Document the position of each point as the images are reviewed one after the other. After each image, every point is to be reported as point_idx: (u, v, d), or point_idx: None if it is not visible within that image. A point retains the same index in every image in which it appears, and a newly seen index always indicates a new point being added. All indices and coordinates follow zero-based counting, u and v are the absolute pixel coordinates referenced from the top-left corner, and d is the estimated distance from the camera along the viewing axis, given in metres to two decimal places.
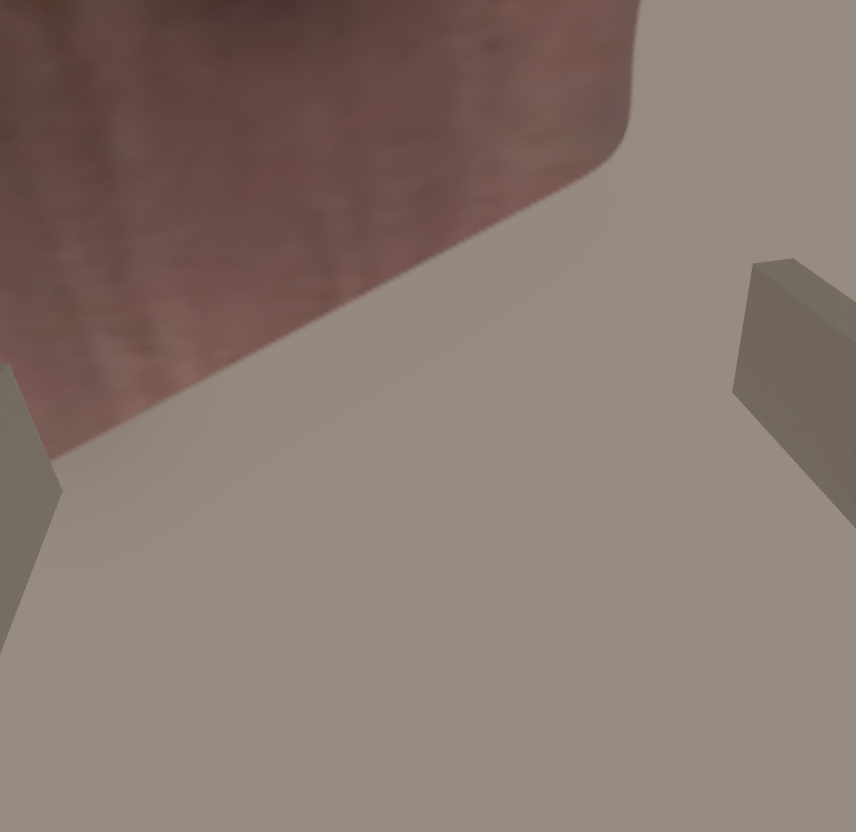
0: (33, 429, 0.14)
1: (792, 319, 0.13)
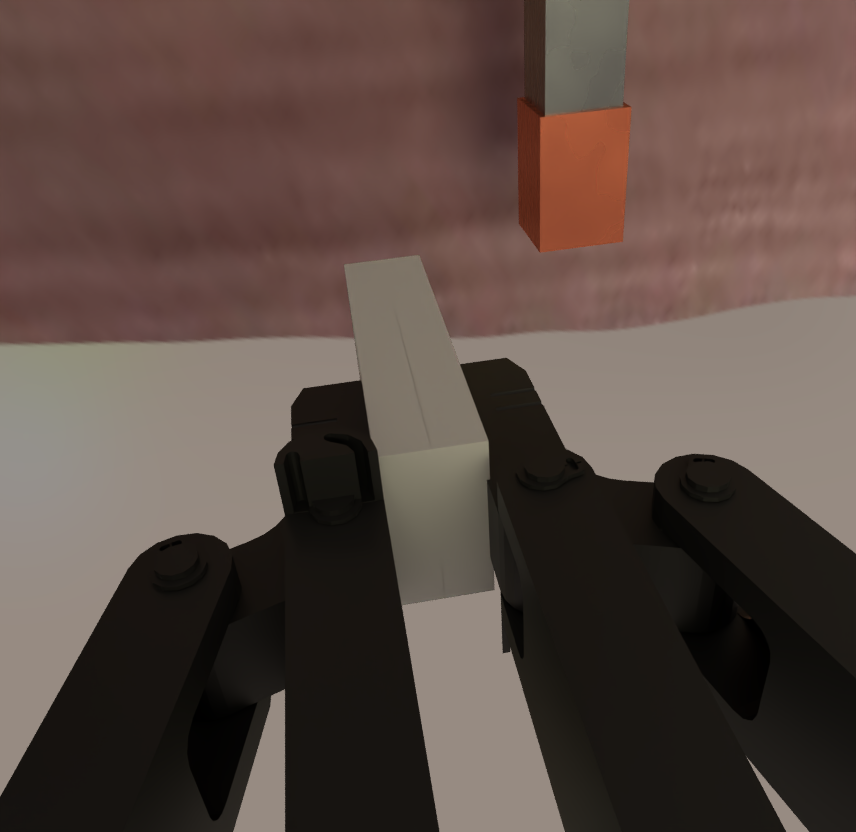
0: None
1: None
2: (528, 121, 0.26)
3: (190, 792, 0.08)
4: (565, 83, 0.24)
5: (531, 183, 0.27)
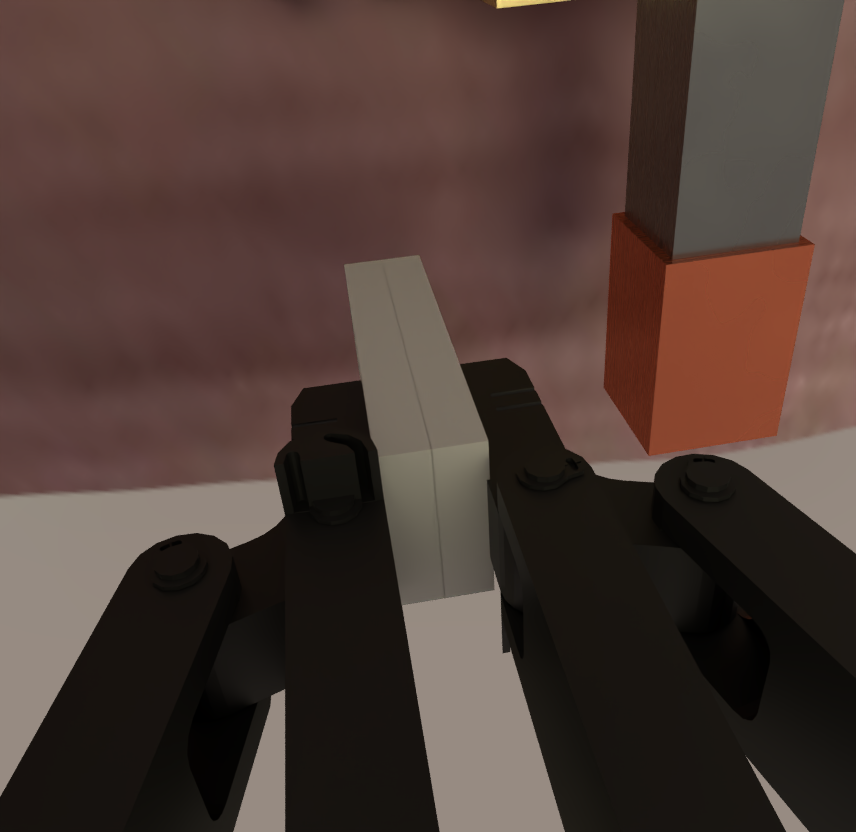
0: None
1: None
2: (636, 258, 0.16)
3: (190, 792, 0.08)
4: (710, 210, 0.14)
5: (636, 349, 0.17)
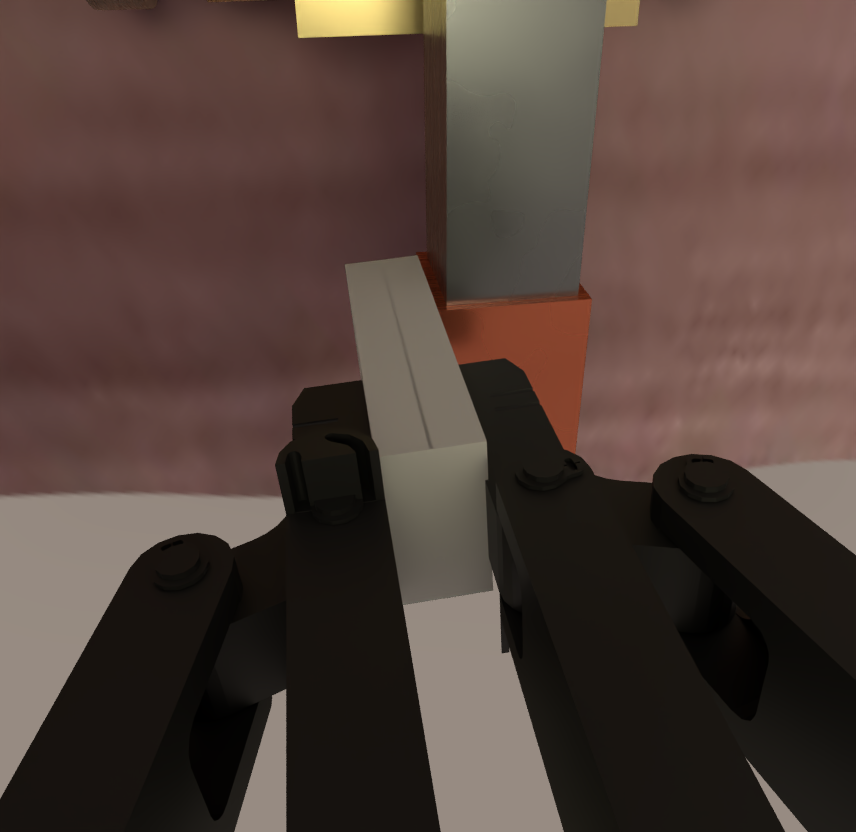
0: None
1: None
2: None
3: (191, 792, 0.08)
4: (481, 259, 0.14)
5: None
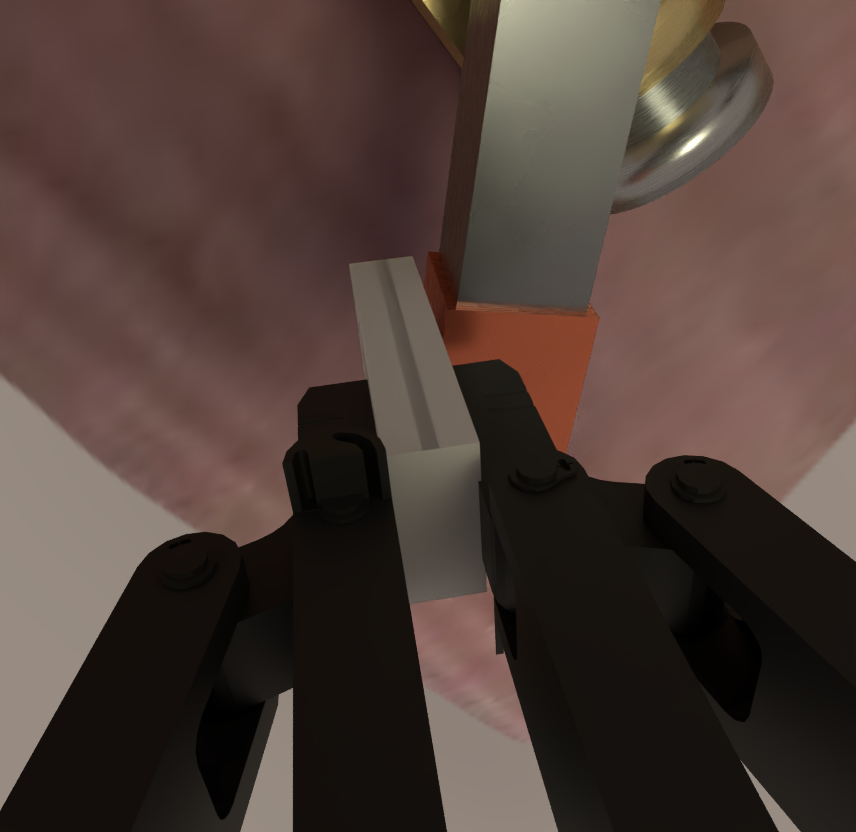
0: None
1: None
2: (434, 299, 0.16)
3: (198, 791, 0.08)
4: (498, 264, 0.14)
5: None
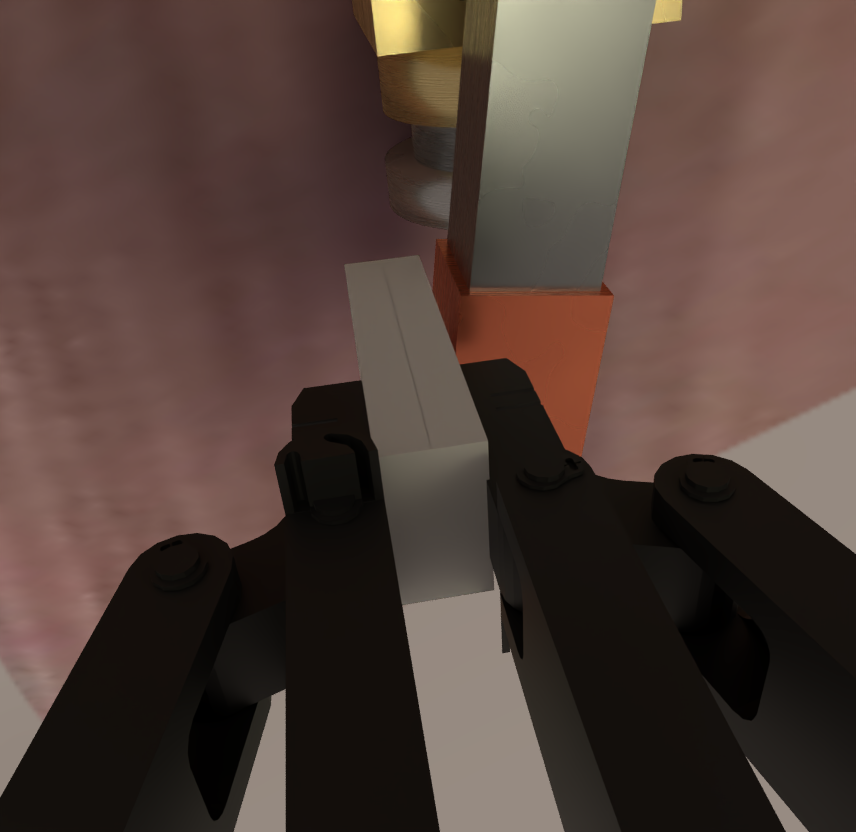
0: None
1: None
2: (445, 286, 0.16)
3: (190, 792, 0.08)
4: (509, 247, 0.14)
5: None
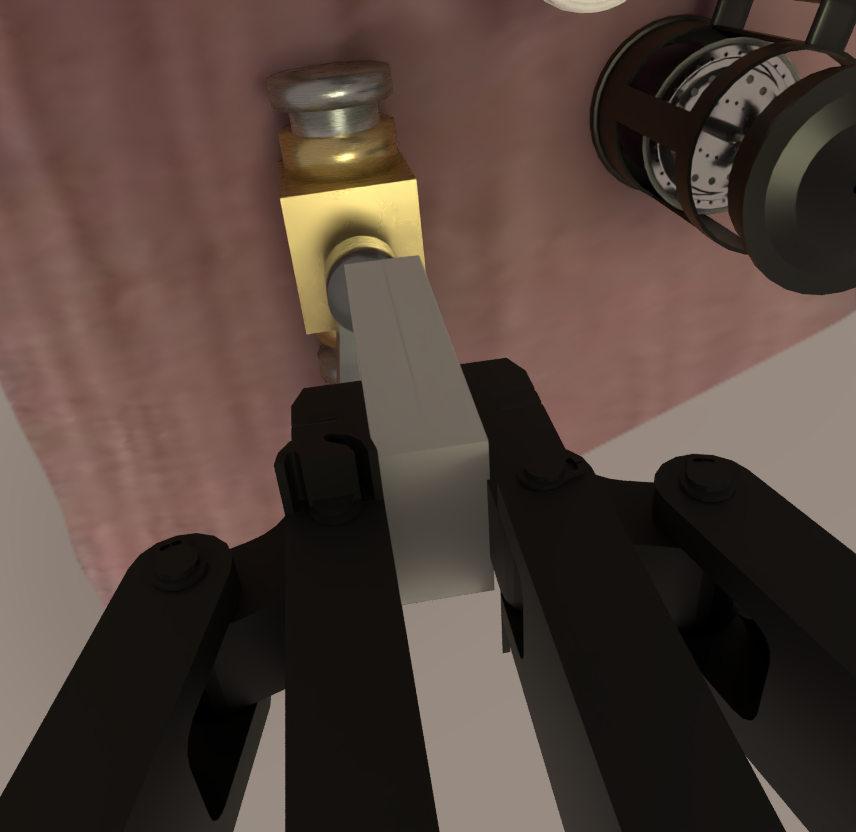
0: None
1: None
2: None
3: (190, 792, 0.08)
4: None
5: None
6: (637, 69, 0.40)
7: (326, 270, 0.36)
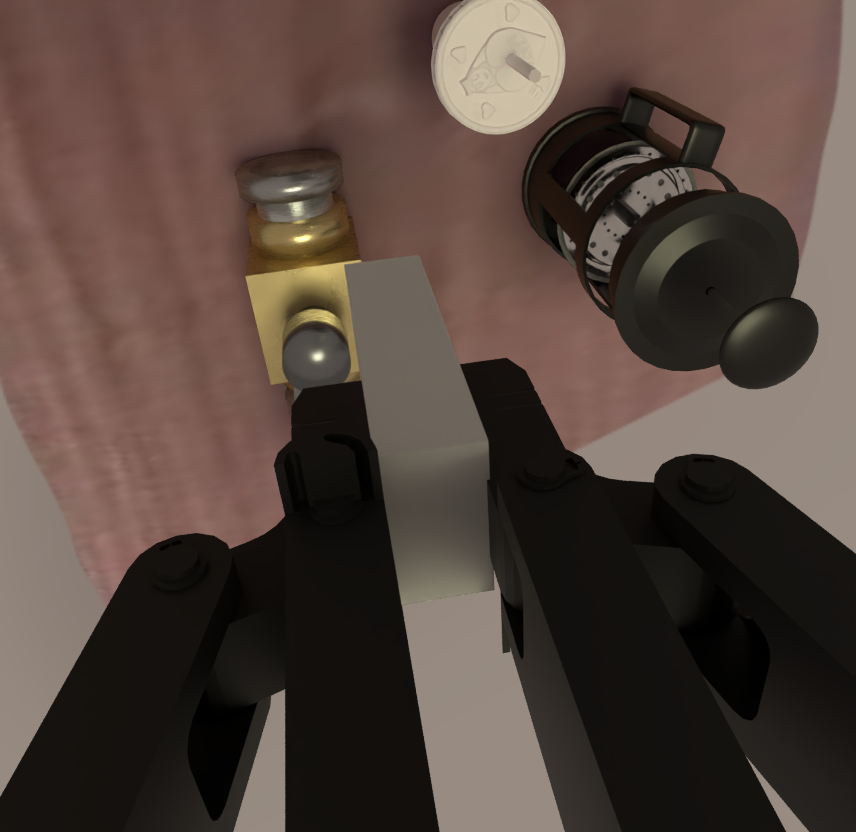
0: None
1: None
2: None
3: (190, 792, 0.08)
4: None
5: None
6: (556, 159, 0.47)
7: (283, 339, 0.43)
